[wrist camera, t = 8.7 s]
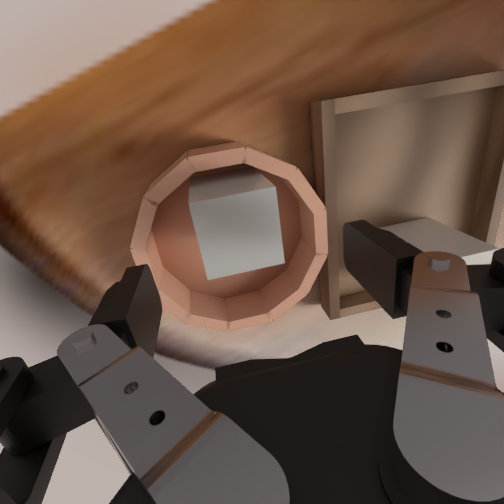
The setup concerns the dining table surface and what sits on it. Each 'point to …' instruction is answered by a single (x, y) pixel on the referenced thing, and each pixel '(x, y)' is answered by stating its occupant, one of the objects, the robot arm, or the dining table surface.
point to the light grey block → (236, 221)
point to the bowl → (188, 252)
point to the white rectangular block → (443, 240)
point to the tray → (407, 167)
